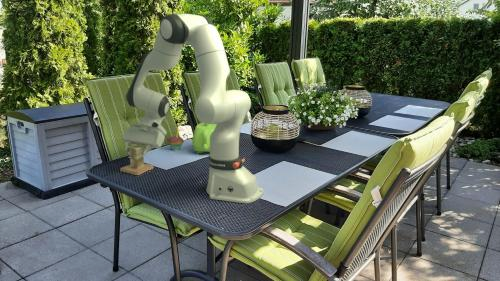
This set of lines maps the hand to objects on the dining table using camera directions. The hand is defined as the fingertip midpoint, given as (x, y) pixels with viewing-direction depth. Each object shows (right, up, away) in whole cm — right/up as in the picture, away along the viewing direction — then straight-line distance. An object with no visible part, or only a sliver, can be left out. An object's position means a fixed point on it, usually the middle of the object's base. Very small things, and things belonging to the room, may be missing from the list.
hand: (135, 152), depth 164 cm
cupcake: (+11, 0, +34) cm, 36 cm away
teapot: (+31, 0, +34) cm, 46 cm away
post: (0, -6, +2) cm, 7 cm away
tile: (0, -9, +3) cm, 9 cm away
